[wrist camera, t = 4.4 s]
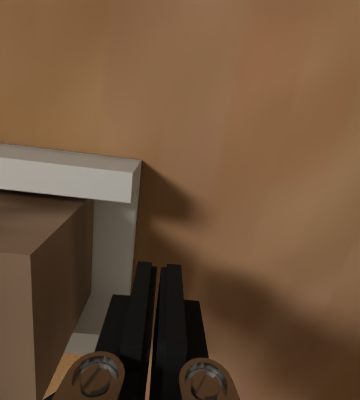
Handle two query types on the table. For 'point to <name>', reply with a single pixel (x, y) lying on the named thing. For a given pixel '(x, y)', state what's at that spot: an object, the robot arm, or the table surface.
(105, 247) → the chute
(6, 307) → the walnut block
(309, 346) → the table surface
